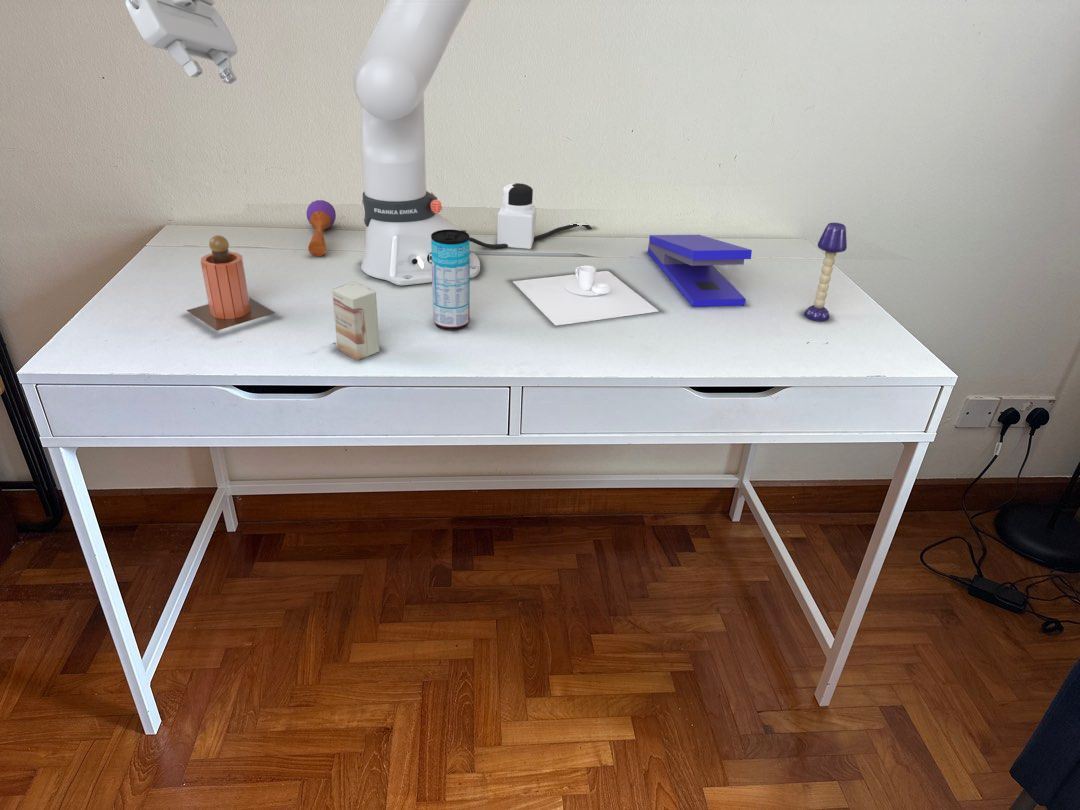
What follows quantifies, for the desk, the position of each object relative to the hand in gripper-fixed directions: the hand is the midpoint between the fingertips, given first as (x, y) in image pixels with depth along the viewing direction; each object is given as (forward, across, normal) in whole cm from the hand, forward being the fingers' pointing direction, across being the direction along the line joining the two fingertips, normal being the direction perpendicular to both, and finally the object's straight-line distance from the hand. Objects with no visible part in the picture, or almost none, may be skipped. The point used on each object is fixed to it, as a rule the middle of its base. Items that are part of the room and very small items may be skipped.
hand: (214, 78), depth 117 cm
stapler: (+66, +35, -50) cm, 90 cm away
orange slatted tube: (+32, -6, +16) cm, 36 cm away
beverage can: (+51, +2, -13) cm, 52 cm away
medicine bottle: (+44, +43, -20) cm, 64 cm away
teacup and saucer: (+58, +19, -31) cm, 69 cm away
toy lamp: (+81, +22, -66) cm, 106 cm away
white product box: (+47, -11, -2) cm, 48 cm away
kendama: (+24, +32, +14) cm, 42 cm away
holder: (+32, -5, +17) cm, 37 cm away
